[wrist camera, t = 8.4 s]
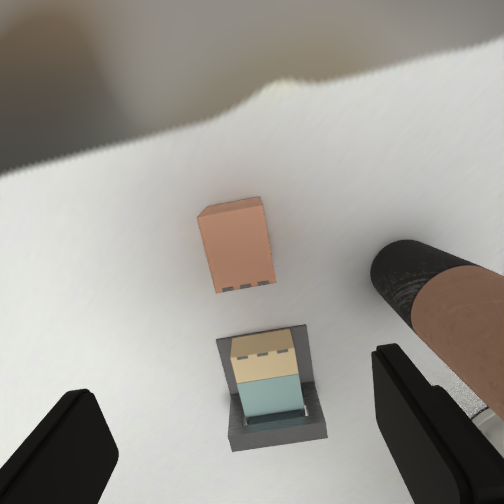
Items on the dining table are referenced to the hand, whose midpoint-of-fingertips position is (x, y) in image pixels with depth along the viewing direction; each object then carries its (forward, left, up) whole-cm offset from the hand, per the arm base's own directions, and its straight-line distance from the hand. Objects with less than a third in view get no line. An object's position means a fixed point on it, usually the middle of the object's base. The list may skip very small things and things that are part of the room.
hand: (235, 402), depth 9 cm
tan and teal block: (-17, 0, -21) cm, 27 cm away
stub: (0, 0, -21) cm, 21 cm away
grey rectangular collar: (-22, 0, -21) cm, 30 cm away
